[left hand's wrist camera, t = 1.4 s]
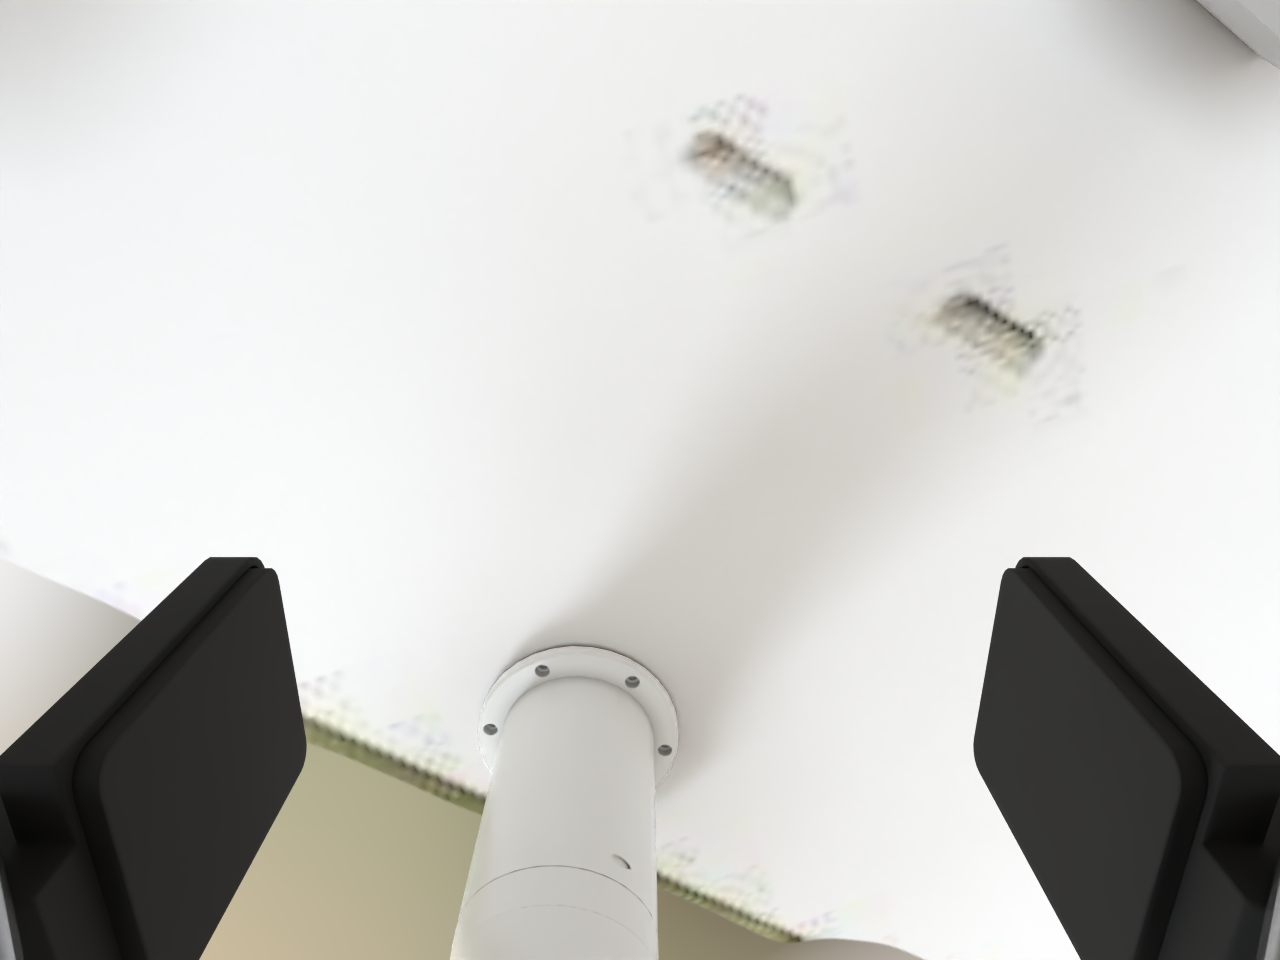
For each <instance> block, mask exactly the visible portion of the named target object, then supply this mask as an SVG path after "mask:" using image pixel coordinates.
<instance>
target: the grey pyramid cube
mask: <svg viewBox="0 0 1280 960" xmlns="http://www.w3.org/2000/svg"><path fill="white" fill-rule="evenodd" d="M1196 1H1197V2H1199V3H1200V4H1201V5H1202V6H1203V7H1204V8H1205V9H1206V10H1208V11H1209V12H1210V13H1211V14H1212V15H1213V16H1214V17H1216V18H1217V19H1218V20H1219V21H1220V22H1221V23H1222V24H1223V25H1225V26H1226V27H1227V28H1228V29H1229V30H1230V31H1231V32H1233V33H1234V34H1235V35H1236V36H1237V37H1238V38H1239V39H1241V40H1242V41H1243V42H1244V43H1245V44H1246V45H1247V46H1248V47H1250V48H1251V49H1252V50H1253V51H1254V52H1255V53H1256V54H1258V55H1259V56H1260V57H1261V58H1262V59H1264V60H1265V61H1267V62H1269V63H1271V64H1273V65H1274V66H1276V67H1278V68H1280V0H1196Z"/></svg>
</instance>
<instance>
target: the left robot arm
mask: <svg viewBox="0 0 1280 960" xmlns="http://www.w3.org/2000/svg"><path fill="white" fill-rule="evenodd" d="M478 740H479V748H480V751H481V754H482V757H483V760H484V763H485V764H486V766H487V768H488V769H489V771H490V773H491V775H492V777H491V781H490V785H489V790H488V794H487V798H486V802H485V807H484V811H483V815H482V820H481V824H480V828H479V832H478V837H477V841H476V845H475V849H474V854H473V858H472V862H471V867H470V871H469V875H468V880H467V884H466V888H465V892H464V897H463V901H462V905H461V909H460V914H459V918H458V923H457V927H456V931H455V936H454V940H453V945H452V951H451V957H450V960H659V957H658V923H657V874H656V825H655V789H656V788H657V787H658V786H659V785H660V784H661V783H662V782H663V780H664V779H665V777H666V776H667V774H668V773H669V771H670V770H671V768H672V765H673V763H674V760H675V757H676V755H677V748H678V741H679V734H678V721H677V716H676V712H675V707H674V705H673V703H672V701H671V699H670V697H669V694H668V693H667V691H666V690H665V689H664V687H663V686H662V685H661V683H660V682H659V681H658V679H657V678H655V677H654V676H653V675H652V674H651V673H650V672H649V671H648V670H646V669H645V668H644V667H643V666H641V665H639V664H638V663H636V662H634V661H633V660H631V659H629V658H627V657H625V656H622V655H620V654H617V653H614V652H612V651H608V650H603V649H599V648H594V647H580V646H569V647H560V648H552V649H549V650H546V651H542V652H539V653H535V654H533V655H531V656H529V657H527V658H525V659H523V660H521V661H519V662H517V663H516V664H515V665H513V666H512V667H511V668H509V669H508V670H507V671H505V672H504V673H503V674H502V675H501V676H500V678H499V679H498V680H497V681H496V682H495V683H494V685H493V686H492V688H491V689H490V691H489V693H488V695H487V697H486V699H485V701H484V705H483V708H482V711H481V714H480V719H479V724H478ZM305 757H306V736H305V730H304V724H303V718H302V713H301V707H300V701H299V695H298V689H297V684H296V678H295V672H294V666H293V660H292V655H291V649H290V643H289V637H288V631H287V626H286V620H285V614H284V608H283V602H282V597H281V591H280V585H279V580H278V576H277V574H276V572H275V570H273V569H272V568H264V565H263V564H262V562H261V560H259V559H258V558H257V557H210V558H208V559H207V560H205V561H204V562H203V563H202V564H201V565H200V566H199V567H198V568H197V569H196V570H195V571H194V572H192V573H191V574H190V575H189V576H188V577H187V578H186V579H185V580H184V581H183V582H182V583H181V584H180V585H179V586H178V587H177V588H176V589H175V590H174V591H173V592H171V593H170V594H169V595H168V596H167V597H166V598H165V599H164V600H163V601H162V602H161V603H160V604H159V605H158V606H157V607H156V608H155V609H154V610H153V611H152V612H150V613H149V614H148V615H147V616H146V617H145V618H144V619H143V620H142V621H141V622H140V623H139V624H138V625H137V626H136V627H135V628H134V629H133V630H132V631H131V632H130V633H128V634H127V635H126V636H125V637H124V638H123V639H122V640H121V641H120V642H119V643H118V644H117V645H116V646H115V647H114V648H113V649H112V650H111V651H110V652H109V653H107V654H106V655H105V656H104V657H103V658H102V659H101V660H100V661H99V662H98V663H97V664H96V665H95V666H94V667H93V668H92V669H91V670H90V671H89V672H88V673H86V674H85V675H84V676H83V677H82V678H81V679H80V680H79V681H78V682H77V683H76V684H75V685H74V686H73V687H72V688H71V689H70V690H69V691H68V692H67V693H66V694H64V695H63V696H62V697H61V698H60V699H59V700H58V701H57V702H56V703H55V704H54V705H53V706H52V707H51V708H50V709H49V710H48V711H47V712H46V713H45V714H44V715H42V716H41V717H40V718H39V719H38V720H37V721H36V722H35V723H34V724H33V725H32V726H31V727H30V728H29V729H28V730H27V731H26V732H25V733H24V734H23V735H21V737H19V738H18V739H17V740H16V741H15V742H14V743H13V744H12V745H11V746H10V747H9V748H8V749H7V750H6V751H5V752H4V753H3V754H2V755H0V960H199V959H200V957H201V955H202V953H203V951H204V950H205V948H206V946H207V944H208V942H209V940H210V939H211V937H212V935H213V933H214V931H215V929H216V927H217V926H218V924H219V922H220V920H221V918H222V916H223V915H224V913H225V911H226V909H227V907H228V905H229V904H230V902H231V900H232V898H233V896H234V894H235V892H236V891H237V889H238V887H239V885H240V883H241V881H242V880H243V878H244V876H245V874H246V872H247V870H248V868H249V867H250V865H251V863H252V861H253V859H254V857H255V855H256V854H257V852H258V850H259V848H260V846H261V844H262V842H263V841H264V839H265V837H266V835H267V833H268V832H269V830H270V828H271V826H272V824H273V822H274V820H275V819H276V817H277V815H278V813H279V811H280V809H281V807H282V806H283V804H284V802H285V800H286V798H287V796H288V795H289V793H290V791H291V789H292V787H293V785H294V784H295V782H296V780H297V778H298V776H299V774H300V772H301V770H302V768H303V765H304V762H305ZM974 757H975V762H976V765H977V768H978V770H979V772H980V774H981V776H982V778H983V780H984V782H985V784H986V785H987V787H988V789H989V791H990V793H991V795H992V796H993V798H994V800H995V802H996V804H997V806H998V808H999V809H1000V811H1001V813H1002V815H1003V817H1004V819H1005V820H1006V822H1007V824H1008V826H1009V828H1010V830H1011V832H1012V833H1013V835H1014V837H1015V839H1016V841H1017V843H1018V844H1019V846H1020V848H1021V850H1022V852H1023V854H1024V856H1025V857H1026V859H1027V861H1028V863H1029V865H1030V867H1031V868H1032V870H1033V872H1034V874H1035V876H1036V878H1037V880H1038V881H1039V883H1040V885H1041V887H1042V889H1043V891H1044V892H1045V894H1046V896H1047V898H1048V900H1049V902H1050V904H1051V905H1052V907H1053V909H1054V911H1055V913H1056V915H1057V916H1058V918H1059V920H1060V922H1061V924H1062V926H1063V927H1064V929H1065V931H1066V933H1067V935H1068V937H1069V939H1070V940H1071V942H1072V944H1073V946H1074V948H1075V950H1076V951H1077V953H1078V955H1079V957H1080V959H1081V960H1280V755H1278V754H1277V753H1276V752H1275V751H1274V750H1273V749H1272V748H1271V747H1270V746H1269V745H1268V744H1267V743H1266V742H1265V741H1264V740H1263V739H1262V738H1261V737H1260V736H1259V735H1258V734H1256V733H1255V732H1254V731H1253V730H1252V729H1251V728H1250V727H1249V726H1248V725H1247V724H1246V723H1245V722H1244V721H1243V720H1242V719H1241V718H1240V717H1239V716H1238V715H1237V714H1235V713H1234V712H1233V711H1232V710H1231V709H1230V708H1229V707H1228V706H1227V705H1226V704H1225V703H1224V702H1223V701H1222V700H1221V699H1220V698H1219V697H1218V696H1217V695H1216V694H1214V693H1213V692H1212V691H1211V690H1210V689H1209V688H1208V687H1207V686H1206V685H1205V684H1204V683H1203V682H1202V681H1201V680H1200V679H1199V678H1198V677H1197V676H1196V675H1195V674H1194V673H1192V672H1191V671H1190V670H1189V669H1188V668H1187V667H1186V666H1185V665H1184V664H1183V663H1182V662H1181V661H1180V660H1179V659H1178V658H1177V657H1176V656H1175V655H1174V654H1173V653H1171V652H1170V651H1169V650H1168V649H1167V648H1166V647H1165V646H1164V645H1163V644H1162V643H1161V642H1160V641H1159V640H1158V639H1157V638H1156V637H1155V636H1154V635H1153V634H1152V633H1150V632H1149V631H1148V630H1147V629H1146V628H1145V627H1144V626H1143V625H1142V624H1141V623H1140V622H1139V621H1138V620H1137V619H1136V618H1135V617H1134V616H1133V615H1132V614H1131V613H1130V612H1128V611H1127V610H1126V609H1125V608H1124V607H1123V606H1122V605H1121V604H1120V603H1119V602H1118V601H1117V600H1116V599H1115V598H1114V597H1113V596H1112V595H1111V594H1110V593H1109V592H1107V591H1106V590H1105V589H1104V588H1103V587H1102V586H1101V585H1100V584H1099V583H1098V582H1097V581H1096V580H1095V579H1094V578H1093V577H1092V576H1091V575H1090V574H1089V573H1088V572H1086V571H1085V570H1084V569H1083V568H1082V567H1081V566H1080V565H1079V564H1078V563H1077V562H1076V561H1075V560H1073V559H1072V558H1070V557H1023V558H1022V559H1021V560H1019V562H1018V564H1017V565H1016V568H1008V569H1007V570H1005V572H1004V574H1003V576H1002V580H1001V585H1000V591H999V597H998V602H997V608H996V614H995V620H994V626H993V631H992V637H991V643H990V649H989V655H988V660H987V666H986V672H985V678H984V684H983V689H982V695H981V701H980V707H979V713H978V718H977V724H976V730H975V736H974Z"/></svg>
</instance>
